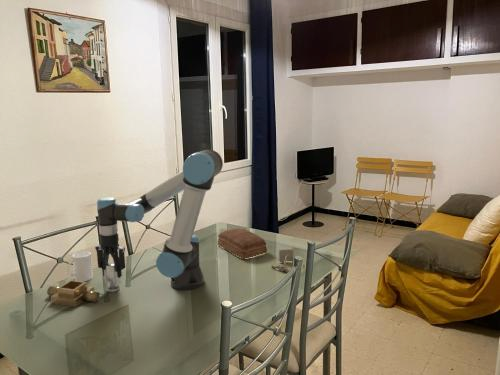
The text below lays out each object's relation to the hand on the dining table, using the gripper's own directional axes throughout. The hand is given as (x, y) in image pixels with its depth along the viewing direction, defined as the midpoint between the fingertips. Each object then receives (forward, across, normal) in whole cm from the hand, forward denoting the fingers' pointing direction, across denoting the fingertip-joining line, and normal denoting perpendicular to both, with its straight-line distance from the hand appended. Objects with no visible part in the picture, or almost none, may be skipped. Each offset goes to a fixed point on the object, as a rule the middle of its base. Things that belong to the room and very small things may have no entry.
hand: (113, 283), depth 170 cm
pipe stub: (+3, 0, 0) cm, 3 cm away
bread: (+4, -42, -61) cm, 74 cm away
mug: (+3, +22, -6) cm, 23 cm away
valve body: (+3, +12, +11) cm, 17 cm away
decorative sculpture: (+4, -68, -44) cm, 81 cm away
